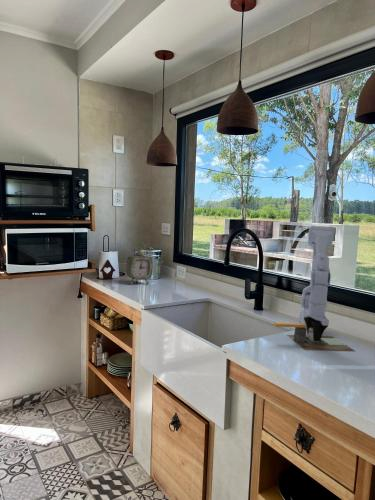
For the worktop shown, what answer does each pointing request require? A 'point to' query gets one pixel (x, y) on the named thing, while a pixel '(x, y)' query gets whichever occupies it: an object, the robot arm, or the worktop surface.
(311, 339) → the plug
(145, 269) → the tabletop clock
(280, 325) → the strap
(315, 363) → the worktop surface
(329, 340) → the sage mat
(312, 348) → the board
